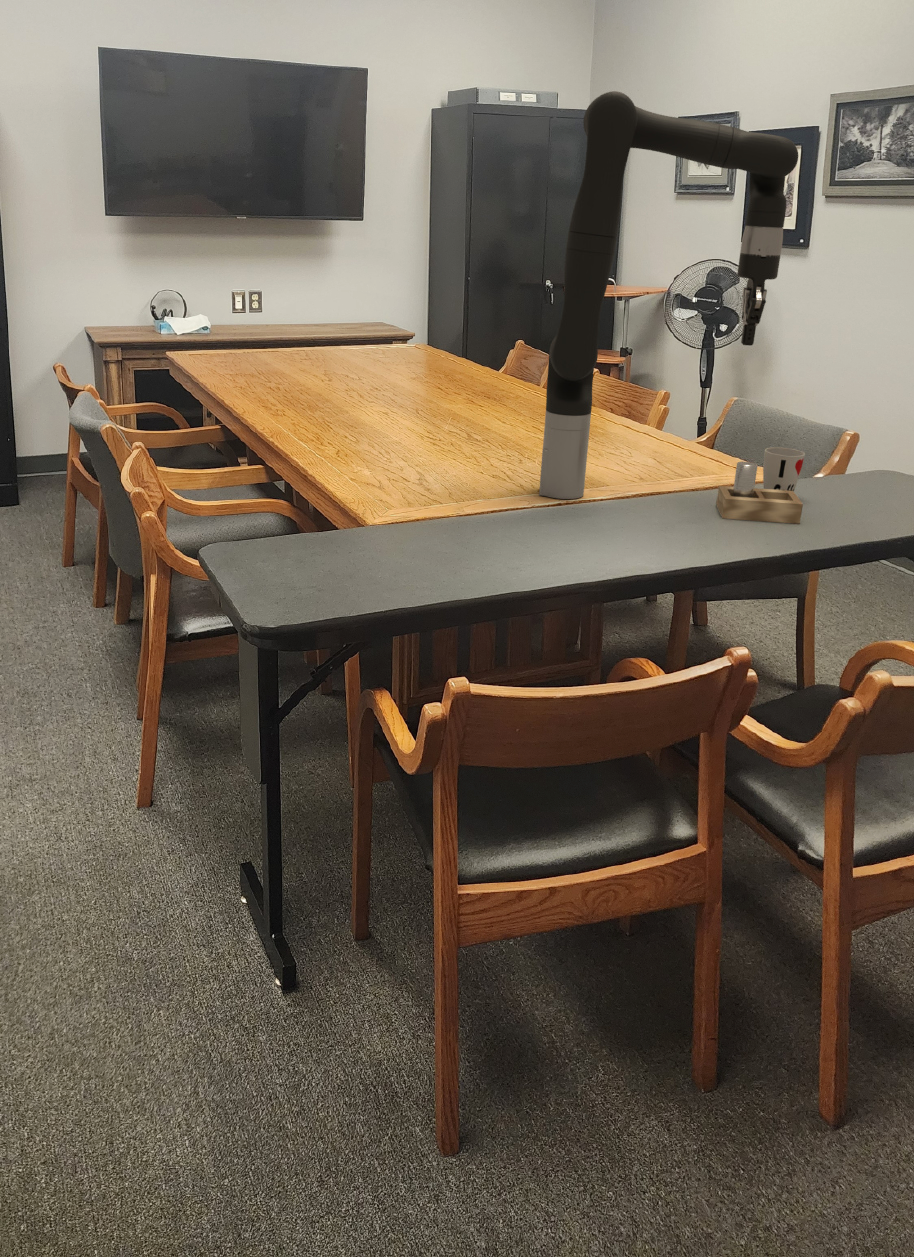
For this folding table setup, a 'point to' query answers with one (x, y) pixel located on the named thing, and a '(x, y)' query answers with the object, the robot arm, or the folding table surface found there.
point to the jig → (760, 505)
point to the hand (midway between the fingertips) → (747, 344)
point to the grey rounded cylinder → (745, 479)
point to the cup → (782, 468)
